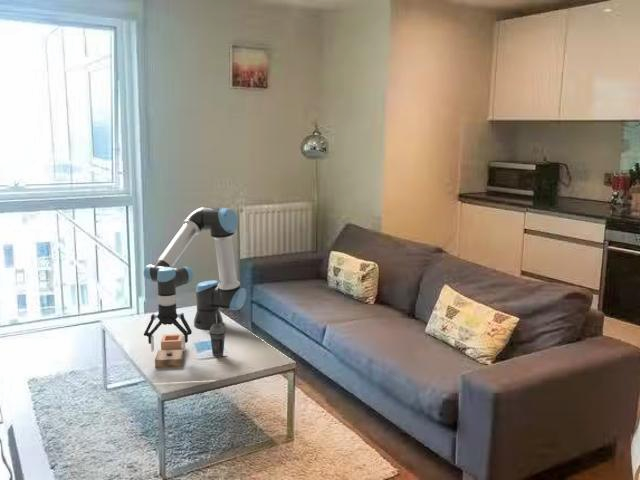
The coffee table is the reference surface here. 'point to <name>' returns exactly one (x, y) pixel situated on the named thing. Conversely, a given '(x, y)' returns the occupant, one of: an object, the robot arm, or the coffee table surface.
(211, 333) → the beverage cup
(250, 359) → the coffee table surface
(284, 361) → the coffee table surface
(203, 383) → the coffee table surface
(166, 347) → the peach open box
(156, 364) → the lid
